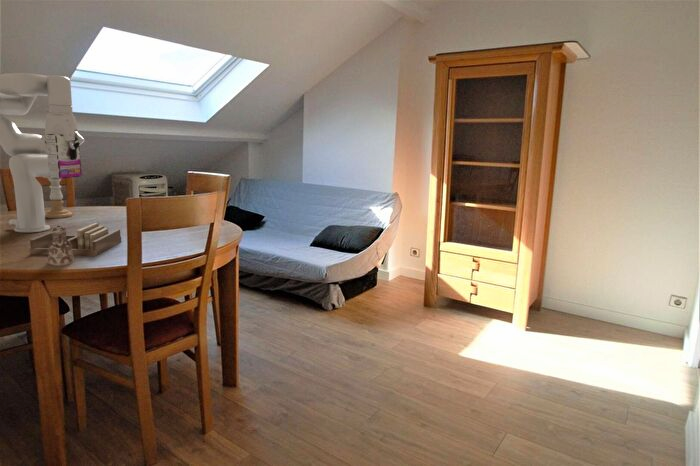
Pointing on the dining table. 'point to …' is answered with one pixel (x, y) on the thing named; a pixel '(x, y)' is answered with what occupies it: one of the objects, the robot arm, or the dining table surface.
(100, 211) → the dining table surface
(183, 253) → the dining table surface
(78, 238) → the offcuts
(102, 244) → the rack
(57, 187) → the candle holder
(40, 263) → the dining table surface
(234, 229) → the dining table surface
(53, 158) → the candy bar box
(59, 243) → the figurine
